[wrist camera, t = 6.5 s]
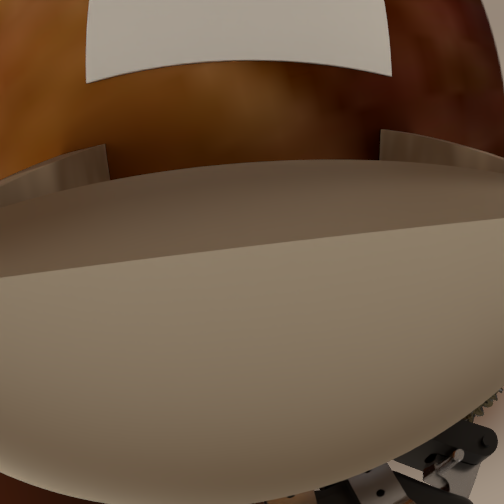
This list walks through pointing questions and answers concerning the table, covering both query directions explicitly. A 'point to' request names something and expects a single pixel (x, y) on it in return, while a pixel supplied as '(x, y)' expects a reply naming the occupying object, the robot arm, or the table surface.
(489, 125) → the table surface
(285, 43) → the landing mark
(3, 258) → the bridge
